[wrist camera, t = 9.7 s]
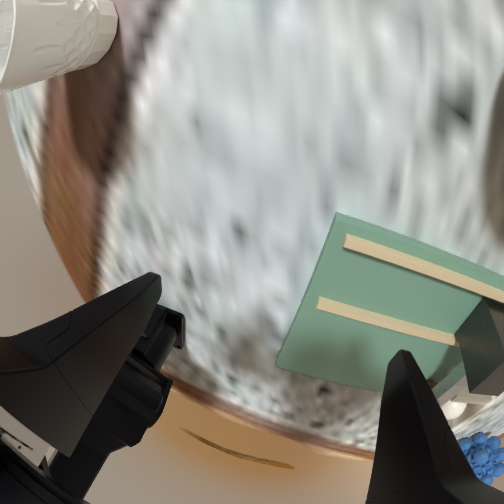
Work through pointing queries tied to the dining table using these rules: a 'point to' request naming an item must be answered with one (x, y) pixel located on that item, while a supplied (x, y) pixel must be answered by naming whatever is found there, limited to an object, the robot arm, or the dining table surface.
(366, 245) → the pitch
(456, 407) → the ball
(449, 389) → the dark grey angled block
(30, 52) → the white cup
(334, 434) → the dining table surface
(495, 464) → the grapes
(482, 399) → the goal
